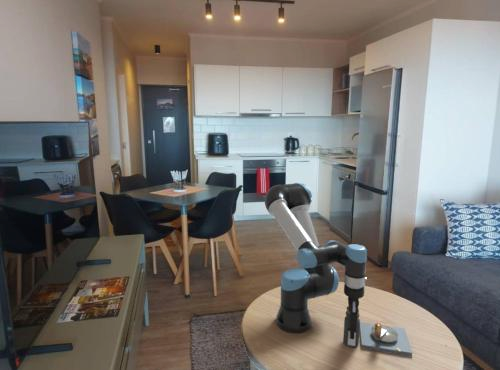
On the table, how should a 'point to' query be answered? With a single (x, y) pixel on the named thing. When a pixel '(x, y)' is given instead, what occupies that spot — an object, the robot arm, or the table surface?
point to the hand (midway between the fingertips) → (351, 338)
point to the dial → (384, 333)
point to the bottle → (346, 325)
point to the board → (397, 348)
